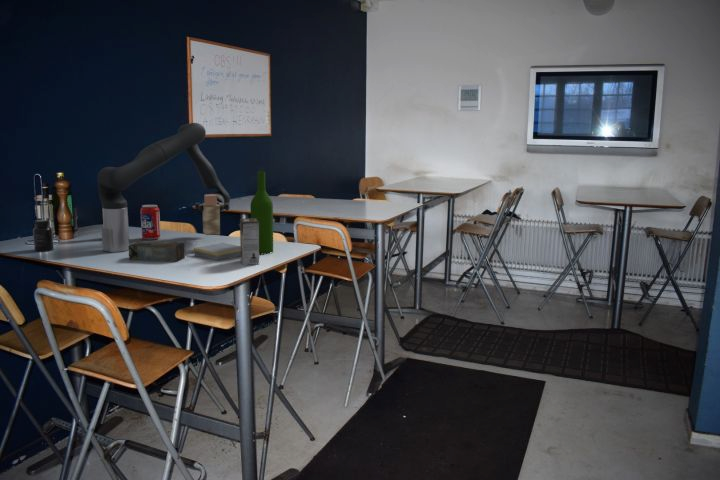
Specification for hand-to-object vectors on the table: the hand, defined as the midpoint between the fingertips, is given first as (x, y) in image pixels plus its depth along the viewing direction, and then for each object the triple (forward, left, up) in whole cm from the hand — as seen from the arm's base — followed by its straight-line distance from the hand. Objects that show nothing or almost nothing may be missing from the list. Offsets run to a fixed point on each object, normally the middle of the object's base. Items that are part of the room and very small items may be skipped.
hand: (210, 208), depth 237 cm
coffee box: (-5, -28, -17) cm, 34 cm away
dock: (-4, -10, -17) cm, 20 cm away
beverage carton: (-25, +2, -17) cm, 30 cm away
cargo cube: (+1, +1, +2) cm, 2 cm away
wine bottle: (+11, -18, -17) cm, 27 cm away
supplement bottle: (-44, +49, -17) cm, 68 cm away
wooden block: (+1, +1, -10) cm, 11 cm away
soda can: (-2, +39, -17) cm, 42 cm away
